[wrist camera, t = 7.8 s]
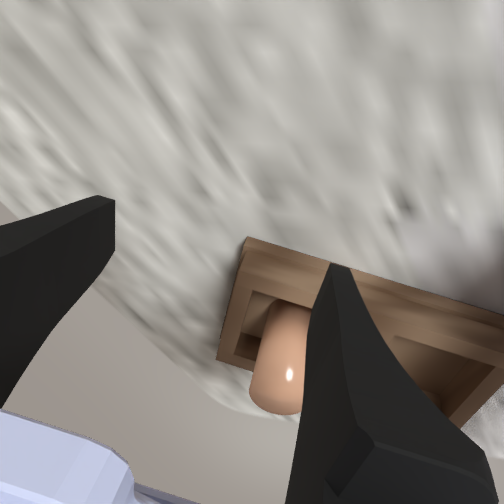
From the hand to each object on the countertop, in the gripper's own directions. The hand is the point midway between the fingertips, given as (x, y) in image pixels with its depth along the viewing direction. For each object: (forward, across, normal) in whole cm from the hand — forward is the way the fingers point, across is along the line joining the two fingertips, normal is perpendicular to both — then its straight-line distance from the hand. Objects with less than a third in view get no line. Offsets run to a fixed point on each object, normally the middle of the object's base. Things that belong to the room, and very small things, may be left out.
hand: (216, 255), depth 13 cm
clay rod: (+8, -4, +9) cm, 13 cm away
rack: (+9, -8, +9) cm, 15 cm away
